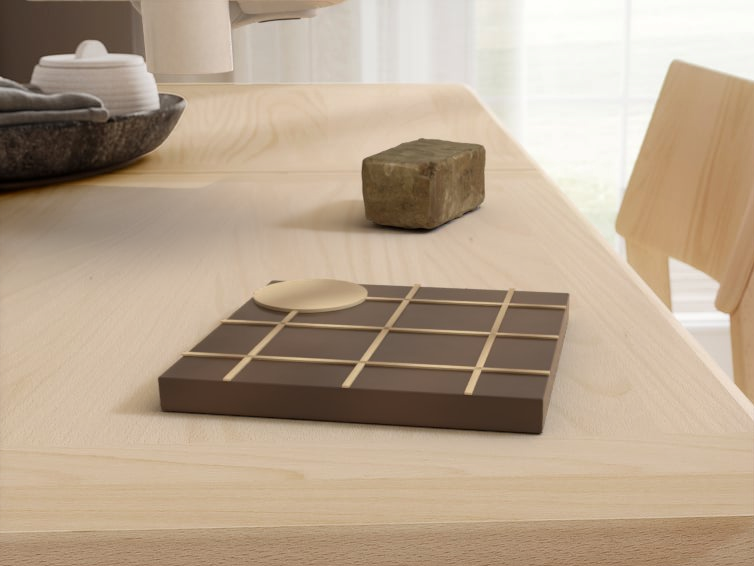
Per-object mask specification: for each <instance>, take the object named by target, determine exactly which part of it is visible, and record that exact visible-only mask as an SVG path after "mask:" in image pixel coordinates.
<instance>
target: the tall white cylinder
mask: <svg viewBox="0 0 754 566" xmlns="http://www.w3.org/2000/svg"><path fill="white" fill-rule="evenodd" d="M140 3H141V13H142V16H141V22H142V34H143V43H144V44H143V45H144V54H145V55H144V56H145V65H146V72H147V73H150V74H153V75H154V74H155V75H166V76H167V75H171V76H198V75H199V76H201V75H215V74H225V73H230V72H233V71H234V59H233V58H234V57H233V43H232V42H233V41H232V30H231V25H230V11H229V0H140Z"/></svg>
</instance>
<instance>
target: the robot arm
mask: <svg viewBox="0 0 754 566" xmlns="http://www.w3.org/2000/svg"><path fill="white" fill-rule="evenodd" d="M27 1H29V2H130V3H131V5H132V7H133V8H134V9H135V10H136V11H137V13H138V14H139V15H140V16H141V17H142V13H141V3H140V0H27ZM347 1H348V0H229V11H230V25H231V31H232V30H236V29H239V28H241V27H244V26H245V27H246V26H247V25H251V24H256V23H258V24H263V23H270V22H275V21H276V22H277V21H278V22H279V21H291V20H301V19H311V18H314V17H317V16H318V15H319V9H321V8H322V9H323V8H328V7H333V6H336V5H340V4H343V3H345V2H347Z"/></svg>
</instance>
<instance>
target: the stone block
mask: <svg viewBox="0 0 754 566" xmlns="http://www.w3.org/2000/svg"><path fill="white" fill-rule="evenodd" d="M486 151H487V150H486V148H485V146H484V145H482V144H478V143H473V142H472V143H471V142H459V141H451V140H444V139H440V138H439V139H437V138H424V137H421V138H418V139H415V140H410V141H404V142H401V143H400V144H398V145H396V146H394V147H390V148H388V149H385V150H382V151H380V152H377V153H375V154H372V155H370V156H367V157H365V158H363V159H362V162H361V170H360V171H361V173H360V174H361V184H362V185H361V192H362V198H363V206H364V215H365V219H366V220H368V221H370V222H371V223H374V224H377V225H382V226H389V227H390V226H391V227H397V228H404V229H408V230H409V229H428V230H430V229H431V230H432V229H435V228H437V227H439V226H441V225H443V224H445V223H447V222H450V221H453V220H454V219H458V218H460V217H463V215H464V214H466V213H468V212H470V211H475V210H476V208H477V207H479V206H480V205H482V203H484V201H485V198H486V188H485V187H486V183H485V182H486V181H485V180H486V179H485V177H486V176H485V169H486V159H487V158H486V153H487V152H486Z"/></svg>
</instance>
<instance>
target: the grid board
mask: <svg viewBox="0 0 754 566" xmlns="http://www.w3.org/2000/svg"><path fill="white" fill-rule="evenodd" d="M421 285H422V284H421V283H420V284H419V283H414V285H412V286H411V285H391V284H365V283H355V282H351V281H348V280H347V281H346V280H339V279H328V278H303V279H292V280H277V279H276V280H274V279H273V280H271V281H269V282H268V283H267V284H266V285H264V286H262V287H260V288H259V289H257V290H255V292H253V295H252V297H251V298H249V300H247V301H246V302H245V303H244V304H243V305H242V306H240V307H239V308H238V309H237V310H236V311H234V312H233V313H232V314H231V315H230V316H228V317H227V318H225V319H221V320H220V324H219V325H218V326H217V327H215V328H214V329H213V330H212V331H211V332H209V333H208V334H207V335H206V336H205V337H203V338H202V340H200V341H199V342H198V343H197V344H196V345H194V346H193V347H192V348H190V349H189V350H188V351H184V352H182V353H181V356H182V357H180V358H179V359H178V360H177V361H175V362H174V363H173V364H172V365H171V366H170V367H168V368H167V369H166V370H165V371H164V372H163V373H161V374H160V375H159V376H158V377H157V383H158V392H159V403H160V405H159V406H160V410H161V411H164V412H165V411H166V412H167V411H168V412H181V413H197V414H214V415H230V416H244V417H245V416H246V417H261V418H263V417H265V418H278V419H280V418H281V419H298V420H313V421H329V422H345V423H346V422H347V423H360V424H361V423H363V424H376V425H377V424H379V425H380V424H381V425H393V426H395V425H396V426H411V427H412V426H413V427H429V428H443V429H445V428H446V429H463V430H477V431H479V430H480V431H495V432H509V433H510V432H512V433H527V434H542V433H543V431H544V428H545V427H544V426H545V422H546V419H547V414H548V410H549V405H550V401H551V397H552V392H553V389H554V385H555V380H556V376H557V370H558V367H559V362H560V359H561V355H562V349H563V346H564V340H565V336H566V332H567V328H568V324H569V319H570V318H569V317H570V293H569V292H556V291H555V292H553V291H533V290H532V291H529V290H528V291H527V290H516V288H513V287H509V288H508V290H507V289H484V288H483V289H481V288H460V287H439V286H438V287H435V286H421Z"/></svg>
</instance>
